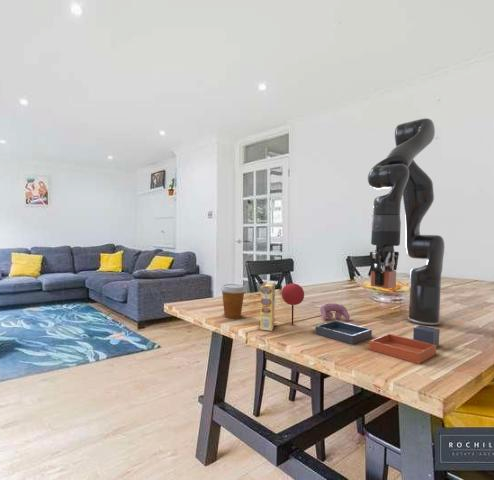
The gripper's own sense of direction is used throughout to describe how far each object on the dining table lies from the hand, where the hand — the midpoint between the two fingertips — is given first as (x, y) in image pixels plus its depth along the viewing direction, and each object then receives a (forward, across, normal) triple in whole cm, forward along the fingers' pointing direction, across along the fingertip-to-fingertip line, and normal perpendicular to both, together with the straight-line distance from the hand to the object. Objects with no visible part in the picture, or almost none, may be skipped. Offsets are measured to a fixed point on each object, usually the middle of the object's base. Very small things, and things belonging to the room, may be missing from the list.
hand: (383, 284), depth 102 cm
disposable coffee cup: (+18, -19, +46) cm, 53 cm away
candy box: (+18, -19, +29) cm, 39 cm away
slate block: (+18, +9, -9) cm, 22 cm away
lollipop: (+18, -9, +26) cm, 33 cm away
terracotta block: (+1, 0, 0) cm, 1 cm away
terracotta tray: (+18, -4, -8) cm, 20 cm away
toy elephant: (+18, +12, +22) cm, 31 cm away
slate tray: (+18, -5, +10) cm, 21 cm away
